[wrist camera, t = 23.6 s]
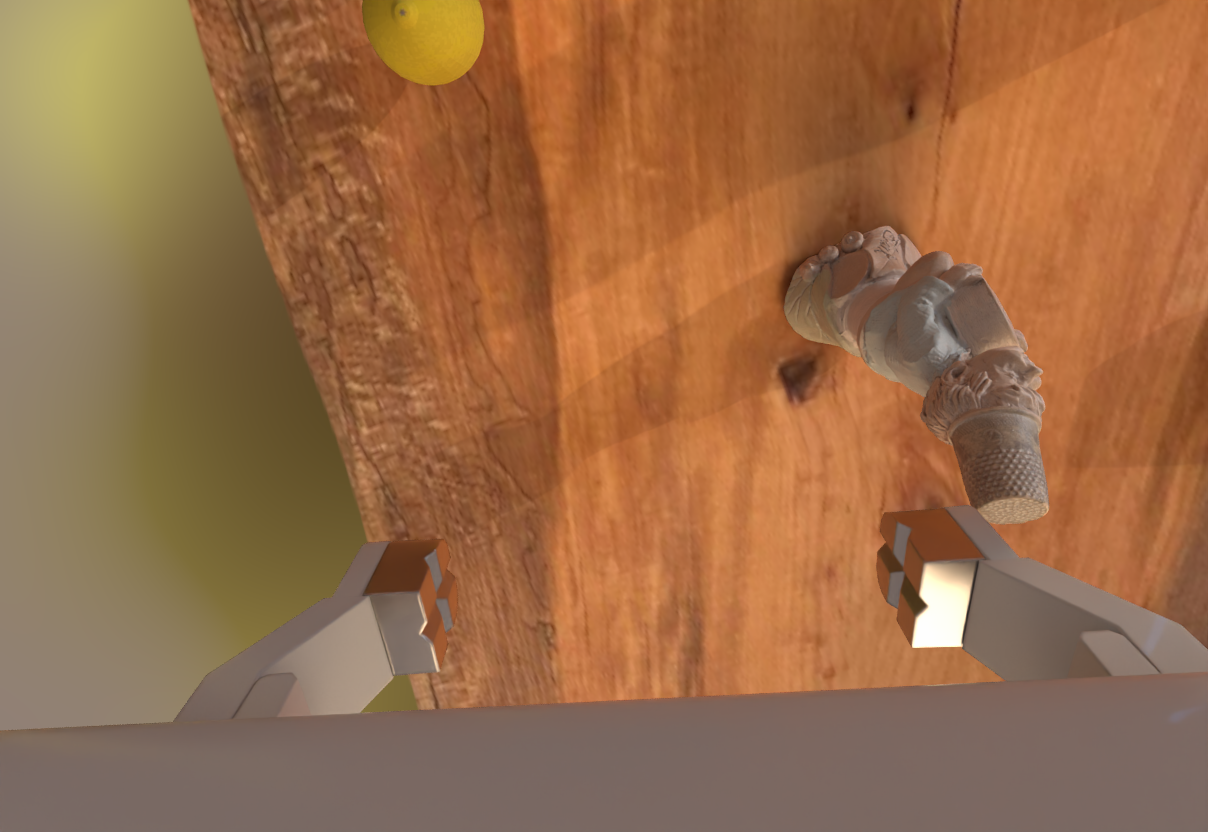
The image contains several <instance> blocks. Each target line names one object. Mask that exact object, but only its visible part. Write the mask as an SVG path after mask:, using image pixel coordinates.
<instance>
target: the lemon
mask: <svg viewBox="0 0 1208 832" xmlns="http://www.w3.org/2000/svg"><path fill="white" fill-rule="evenodd" d="M362 13H363V23H364V26H365V29H366V33H367V36H368V39H369V41H370V42H371V44H372V46H373V48H374V50H375V51H376V53H377V54H378V56H379V57H380V58H381V59H382V60H383V61H384V63H385V64H386V65H387V66H388V67H389V68H390V69H392V70H393V71H394V72H396V73H397V74H399V75H400V76H401V77H403V78H405V79H408V80H410V81H413V82H415V83H418V84H425V85H432V86H433V85H440V84H447V83H449V82H451V81H454V80H456V79H458V78H460V77H461V76H462V75H464V74H465V73H466V72H467V71H468V70H469V69H470V68H471V67H472V65H473V64H474V62H475V61H476V59H477V58H478V56H479V53H480V50H481V47H482V44H483V36H484V20H483V12H482V9H481V6H480V3H479V0H363V3H362Z"/></svg>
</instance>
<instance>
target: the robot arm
mask: <svg viewBox="0 0 1208 832" xmlns="http://www.w3.org/2000/svg"><path fill="white" fill-rule="evenodd" d="M880 533H881V534H882V536H883V538H884V539H885V541H886V543H885V544H884V545H883V546H882V547H881V548H880V549H879V550H878V552H877V564H876V568H877V576H878V583H879V586H880V589H881V592H882V594H883V596H884V598H885V600H886V602H887V603H889V604H890V605H892V606H894V607H895V608H897V609H898V612H897V622H898V624H899V626H900V627H901V629H902V631H903V633H904V635H905V636H906V638H907V640H908V642H909V644H910V645H911V647H952V646H962V649H964V650H965V651H966V652H968V653H969V654H970V655H972V656H973V657H974V658H976V659H977V660H978V661H980V662H981V663H982V664H984V665H985V666H987V667H988V668H989V669H991V670H992V671H993V672H995V673H996V674H997V675H999V676H1000V677H1001V678H1003V679H1004V680H1006V681H1004V682H983V683H963V684H943V685H922V686H902V687H882V688H861V689H841V690H821V691H800V692H780V693H760V694H739V695H719V696H698V697H678V698H657V699H637V700H616V701H596V702H575V703H555V704H534V705H514V706H493V707H473V708H452V709H432V710H411V711H393V712H372V713H371V712H370V713H360V712H361V711H362V710H363V709H364V708H365V707H366V706H367V705H368V704H369V703H370V702H371V701H372V699H373V698H374V697H375V696H376V695H377V694H378V693H379V692H380V691H381V690H382V689H383V688H384V687H385V686H386V685H387V684H388V683H389V682H390V681H391V680H392V679H393V676H394V675H407V674H419V673H432V672H440V669H441V666H442V663H443V660H444V656H445V653H446V650H447V647H448V641H447V636H446V632H448V631H449V630H450V629H451V628H452V627H454V624H455V620H456V617H457V609H458V589H457V583H456V578H455V576H454V575H453V574H452V573H451V572H450V571H448V570H447V567H448V564H449V561H450V558H451V556H450V552H449V549H448V545H447V542H446V541H445V540H444V539H430V540H406V541H392V542H391V541H383V542H368V543H366V544H364V545H362V546H361V548H360V550H359V551H358V553H357V555H356V556H355V558H354V560H353V562H352V563H351V565H350V567H349V569H348V571H347V572H346V574H345V576H344V577H343V579H342V581H341V583H340V585H339V586H338V588H337V589H336V591H335V593H334V595H333V596H332V598H324V599H322V600H321V601H319V602H318V603H316V604H314V605H313V606H311V607H310V608H308V609H307V610H305V611H304V612H302V613H301V614H299V615H298V616H296V617H294V618H293V619H291V620H290V621H288V622H287V623H285V624H284V625H282V626H281V627H279V628H278V629H276V630H275V631H273V632H271V633H270V634H269V635H267V636H265V637H264V638H262V639H261V640H259V641H258V642H256V643H255V644H253V645H252V646H250V647H249V648H247V649H245V650H244V651H243V652H241V653H239V654H238V655H236V656H235V657H233V658H232V659H230V660H229V661H227V662H226V663H224V664H222V665H221V666H220V667H218V668H216V669H215V670H213V671H212V672H210V673H209V674H207V675H206V676H205V678H204V679H203V680H202V682H201V683H200V685H199V686H198V687H197V689H196V690H195V692H194V693H193V694H192V696H191V697H190V698H189V700H188V701H187V703H186V704H185V705H184V707H183V708H182V710H181V711H180V713H179V714H178V715H177V717H176V718H175V720H174V721H173V722H167V723H146V724H127V725H105V726H87V727H65V728H45V729H25V730H4V731H0V832H1208V649H1206V648H1205V647H1204V646H1203V645H1202V644H1201V643H1200V642H1199V641H1198V640H1197V639H1196V638H1195V637H1194V636H1192V635H1191V634H1190V633H1189V632H1188V631H1187V630H1186V629H1185V628H1184V627H1183V626H1182V625H1180V624H1178V623H1176V622H1173V621H1171V620H1169V619H1167V618H1164V617H1162V616H1160V615H1157V614H1155V613H1153V612H1151V611H1148V610H1146V609H1144V608H1142V607H1139V606H1137V605H1135V604H1133V603H1130V602H1128V601H1126V600H1124V599H1121V598H1119V597H1117V596H1114V595H1112V594H1110V593H1108V592H1105V591H1103V590H1101V589H1099V588H1096V587H1094V586H1092V585H1090V584H1087V583H1085V582H1083V581H1081V580H1078V579H1076V578H1074V577H1071V576H1069V575H1067V574H1065V573H1062V572H1060V571H1058V570H1056V569H1053V568H1051V567H1049V566H1047V565H1044V564H1042V563H1040V562H1037V561H1035V560H1033V559H1031V558H1019V557H1018V555H1017V554H1016V553H1015V552H1014V551H1013V550H1012V549H1011V548H1010V547H1009V545H1008V544H1007V543H1006V542H1005V541H1004V540H1003V539H1002V538H1001V536H1000V535H999V534H998V533H997V532H996V531H995V530H994V529H993V528H992V526H991V525H990V524H989V523H988V522H987V521H986V520H985V519H984V518H983V516H982V515H981V514H980V513H979V512H978V511H977V510H976V509H975V508H974V507H972V506H969V505H964V506H953V507H942V508H938V509H925V510H911V511H898V512H885V513H884V514H883V517H882V519H881V525H880Z"/></svg>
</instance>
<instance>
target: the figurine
mask: <svg viewBox="0 0 1208 832" xmlns="http://www.w3.org/2000/svg"><path fill="white" fill-rule="evenodd" d="M982 272H983V269H982V268H981V267H980V266H977V265H975V264H967V263H966V264H965V263H960V264H957V265H954V263H953V260H952V258H951V256H950V254H949V253H946V252H942V251H935V252H931V253H929V254H926V255H924V256H922V257H921V255H920V253H919V251H918V250H917V248H916V247H915V246H914V244H913V243H912V242H911V241H910V240H909V239H908V237H906V236H905V235H903V234H899V235H897V233H896V232H895V231H894V230H893V229H892V228H891V227H890V226H883V227H879V228H876V229H875V230H872V231H868V232H866V233H864V234H861V233H860V232H856V231H852V232H849V233H847V234H845V235H844V237H843V239H842V241H841V243H839V244H837V245H835V246H831V245H829V246H826V247H824V248H823V249H822V250H821V251H820V252H819V254H818V255H815V256H812V257H809V258H807V260H806V261H805V262H804V263H803V264H801V265H800V266H799V268H798V269H797V270H796V272H795V274H794V276H793V278H792V281H791V283H790V286H789V288H788V292H787V294H786V297H785V305H784V312H785V315H786V318H787V321H788V322H789V324H790V325H791V326H792V328H793V330H794V331H796V332H797V333H798V334H801V335H802V337H804V338H806V339H807V340H811V341H815V342H819V343H821V342H822V343H824V344H831V345H837V346H839V347H841V348H843V349H845V350H846V351H847V352H849V353H851V354H852V355H854V356H857V357H862V359H863V360H864V362H865V363H866V364H867V365H868V366H869V367H870V368H871V369H872V370H873V371H875V372H876V373H878V374H880V375H882V376H885V377H886V379H888V380H890V381H894V382H901V383H902V384H904V385H905V386H906V387H907V388H909V389H910V390H912V391H914V392H916V393H918V394H920V395H922V396H923V397H925V399H924V401H923V408H922V412H921V414H920V417H921V419H922V421H923V422H925V423H926V425H927V427H928V428H929V430H930V431H931V432H933V433H934V434H935V436H936V437H937V438H939V440H941V441H944V443H946V444H949V445H952V446H953V447H954V451H955V453H956V456H957V459H958V463H959V467H960V470H961V474H962V479H963V482H964V486H965V490H966V492H967V495H968V497H969V501H970V504H971V506H972V507H974V508H975V509H976V510H977V511H978V512H979V513H980V514H981V515H982V516H983V518H984V519H985V520H986V521H987V522H989V523H995V524H1018V523H1025V522H1027V521H1032V520H1036V519H1039V518H1040V517H1042V516H1044V515H1045V514H1046V513H1047V511H1048V510H1049V500H1048V499H1049V498H1048V488H1047V482H1046V478H1045V472H1044V468H1043V462H1042V458H1041V453H1040V446H1039V437H1038V434H1039V433H1040V431H1041V422H1042V419H1041V415H1042V412H1043V411H1044V410H1045V403H1044V401H1043V398H1042V397H1041V396H1040V395H1039V394H1038V393H1037V392H1036V391H1035V390H1037V389H1038V388H1039V387H1040V385H1041V379H1040V377H1038V376H1039V375H1041V374H1042V373H1043V371H1042V369H1041V368H1038V367H1037V366H1035V365H1034V363H1033V362H1031V361H1030V360H1029V358H1028V356H1027V355H1025V354H1024V352H1026V351H1027V349H1028V345H1027V343H1026V341H1025V338H1024V335H1023V334H1022V333H1021V332H1020V331H1019V330H1016V329H1014V328H1013V325H1012V323H1011V321H1010V319H1009V318H1008V316H1007V314H1006V312H1005V310H1004V308H1003V306H1002V305H1001V303H1000V301H999V299H998V298H997V296H996V294H995V293H994V291H993V290H992V289H991V288H990V286H989V285H988V283H987V282H986V281H985V279H984V278H983V277H982V275H981V274H982Z"/></svg>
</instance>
